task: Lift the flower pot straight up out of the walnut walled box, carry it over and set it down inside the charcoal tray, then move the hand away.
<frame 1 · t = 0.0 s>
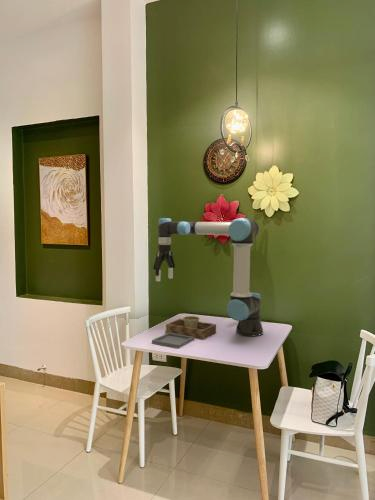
hand: (164, 279, 231), 28 cm above the table, tool pointing down, fingers open, 13 cm apart
tray: (173, 341, 202), on the table
walled box: (191, 333, 219), on the table
flower pot: (191, 333, 219), resting in walled box
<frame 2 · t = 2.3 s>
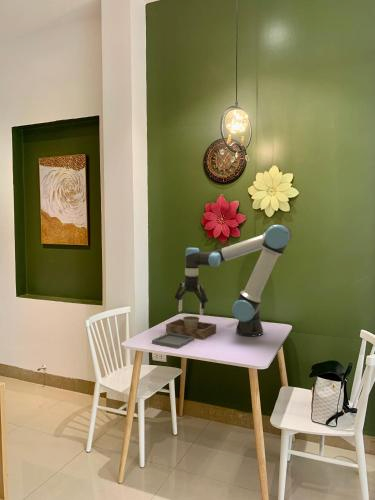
hand: (190, 312, 218), 12 cm above the table, tool pointing down, fingers open, 13 cm apart
nothing on the table moved.
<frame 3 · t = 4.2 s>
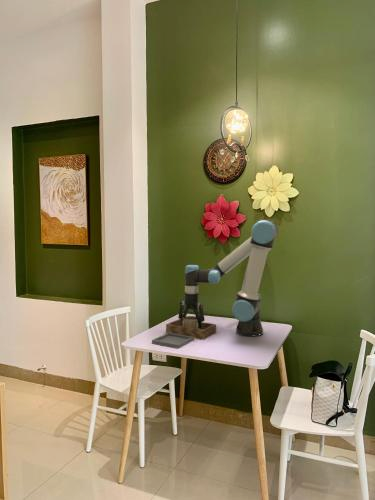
hand: (191, 332, 219), 0 cm above the table, tool pointing down, fingers closed on flower pot, 8 cm apart
flower pot: (191, 333, 219), resting in walled box, touching gripper
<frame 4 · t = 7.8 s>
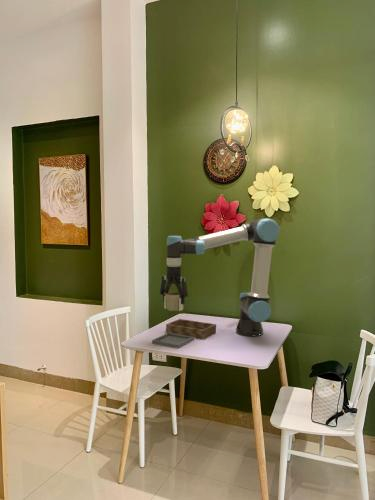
hand: (173, 309, 201), 17 cm above the table, tool pointing down, fingers closed on flower pot, 8 cm apart
flower pot: (173, 310, 201), point 17 cm above the table, touching gripper
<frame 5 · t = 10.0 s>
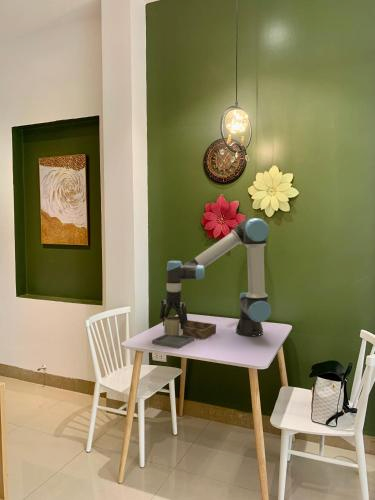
hand: (173, 333, 202), 4 cm above the table, tool pointing down, fingers closed on flower pot, 8 cm apart
flower pot: (173, 334, 202), point 4 cm above the table, touching gripper
when the fingers open (2 cm above the table, at t = 11.4 s): flower pot moves 4 cm, resting on tray.
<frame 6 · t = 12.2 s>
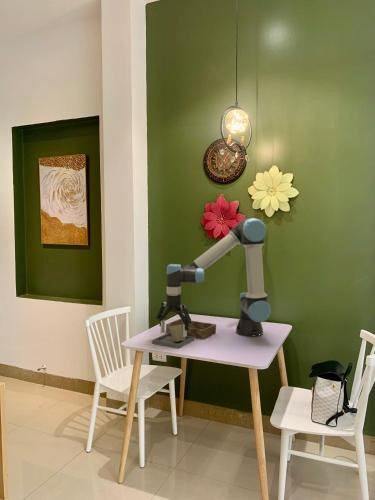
hand: (173, 334, 202), 4 cm above the table, tool pointing down, fingers open, 13 cm apart
flower pot: (179, 340, 200), point 1 cm above the table, touching gripper, tray
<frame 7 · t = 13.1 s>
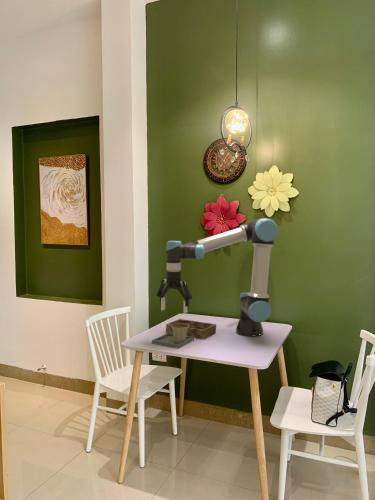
hand: (174, 311, 201), 16 cm above the table, tool pointing down, fingers open, 13 cm apart
flower pot: (179, 342, 200), resting on tray
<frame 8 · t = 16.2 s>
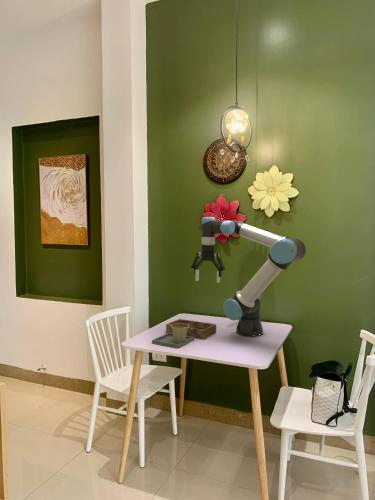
hand: (207, 281, 221), 29 cm above the table, tool pointing down, fingers open, 13 cm apart
nothing on the table moved.
at the end: flower pot inside the target area on the tray (3.8 cm from its centre), point 0.3 cm above the tray's base; flower pot tilted 0°; the gripper is holding nothing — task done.
